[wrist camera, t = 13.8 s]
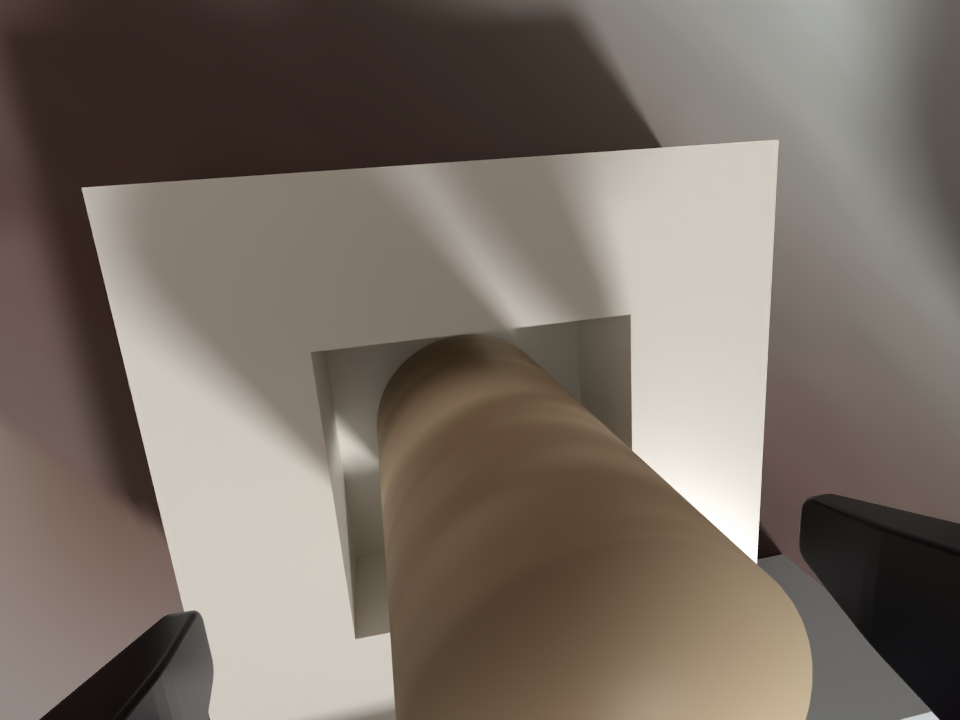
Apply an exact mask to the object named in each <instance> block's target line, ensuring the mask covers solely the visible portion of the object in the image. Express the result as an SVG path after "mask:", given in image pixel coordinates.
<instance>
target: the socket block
mask: <svg viewBox="0 0 960 720" xmlns="http://www.w3.org/2000/svg"><path fill="white" fill-rule="evenodd" d="M778 144H779V140H767V141H752V142H738V143H723V144H709V145H694V146H679V147H665V148H650V149H636V150H621V151H607V152H592V153H578V154H563V155H548V156H534V157H519V158H505V159H490V160H476V161H461V162H446V163H432V164H417V165H403V166H388V167H374V168H359V169H345V170H330V171H315V172H301V173H286V174H272V175H257V176H243V177H228V178H213V179H199V180H184V181H170V182H155V183H141V184H126V185H111V186H97V187H82V192H83V196H84V200H85V205H86V209H87V213H88V217H89V221H90V225H91V229H92V233H93V238H94V242H95V246H96V250H97V254H98V258H99V262H100V267H101V271H102V275H103V279H104V283H105V287H106V291H107V295H108V300H109V304H110V308H111V312H112V316H113V320H114V324H115V329H116V333H117V337H118V341H119V345H120V349H121V353H122V357H123V362H124V366H125V370H126V374H127V378H128V382H129V386H130V391H131V395H132V399H133V403H134V407H135V411H136V415H137V419H138V424H139V428H140V432H141V436H142V440H143V444H144V448H145V453H146V457H147V461H148V465H149V469H150V473H151V477H152V481H153V486H154V490H155V494H156V498H157V502H158V506H159V510H160V515H161V519H162V523H163V527H164V531H165V535H166V539H167V543H168V548H169V552H170V556H171V560H172V564H173V568H174V572H175V577H176V581H177V585H178V589H179V593H180V597H181V601H182V605H183V609H184V612H186V611H192V610H196V611H198V612H199V613H200V614H201V616H202V618H203V621H204V625H205V630H206V634H207V638H208V643H209V647H210V651H211V655H212V660H213V668H214V676H213V685H212V692H211V698H210V704H209V711H208V713H209V717H210V720H396V715H395V700H394V684H393V669H392V654H391V638H390V623H389V608H388V592H387V577H386V561H385V546H384V531H383V515H382V500H381V485H380V469H379V454H378V439H377V413H378V409H379V404H380V400H381V398H382V395H383V392H384V390H385V388H386V386H387V384H388V382H389V380H390V379H391V377H392V376H393V375H394V373H395V372H396V370H397V369H398V368H399V367H400V366H401V365H402V364H403V363H404V362H405V361H406V360H407V359H408V358H409V357H411V356H412V355H413V354H414V353H416V352H417V351H419V350H420V349H422V348H423V347H425V346H427V345H429V344H431V343H433V342H436V341H439V340H442V339H445V338H448V337H453V336H458V335H484V336H489V337H494V338H497V339H500V340H503V341H506V342H508V343H510V344H512V345H514V346H516V347H517V348H519V349H520V350H522V351H523V352H524V353H526V354H527V355H528V356H529V357H530V358H531V359H532V360H533V361H534V362H536V363H537V364H538V365H539V366H540V367H541V368H542V369H543V370H544V371H545V372H547V373H548V374H549V375H550V376H551V377H552V378H553V379H554V380H555V381H556V382H558V383H559V384H560V385H561V386H562V387H563V388H564V389H565V390H566V391H567V392H568V393H570V394H571V395H572V396H573V397H574V398H575V399H576V400H577V401H578V402H579V403H581V404H582V405H583V406H584V407H585V408H586V409H587V410H588V411H589V412H590V413H592V414H593V415H594V416H595V417H596V418H597V419H598V420H599V421H600V422H601V423H603V424H604V425H605V426H606V427H607V428H608V429H609V430H610V431H611V432H612V433H614V434H615V435H616V436H617V437H618V438H619V439H620V440H621V441H622V442H623V443H624V444H626V445H627V446H628V447H629V448H630V449H631V450H632V451H633V452H634V453H635V454H637V455H638V456H639V457H640V458H641V459H642V460H643V461H644V462H645V463H646V464H648V465H649V466H650V467H651V468H652V469H653V470H654V471H655V472H656V473H657V474H659V475H660V476H661V477H662V478H663V479H664V480H665V481H666V482H667V483H668V484H670V485H671V486H672V487H673V488H674V489H675V490H676V491H677V492H678V493H679V494H680V495H682V496H683V497H684V498H685V499H686V500H687V501H688V502H689V503H690V504H691V505H693V506H694V507H695V508H696V509H697V510H698V511H699V512H700V513H701V514H702V515H704V516H705V517H706V518H707V519H708V520H709V521H710V522H711V523H712V524H713V525H715V526H716V527H717V528H718V529H719V530H720V531H721V532H722V533H723V534H724V535H725V536H727V537H728V538H729V539H730V540H731V541H732V542H733V543H734V544H735V545H736V546H738V547H739V548H740V549H741V550H742V551H743V552H744V553H745V554H746V555H747V556H749V557H750V558H751V559H752V560H753V561H754V562H755V563H756V564H757V555H758V535H759V516H760V496H761V477H762V457H763V437H764V418H765V398H766V379H767V359H768V340H769V320H770V301H771V281H772V261H773V242H774V222H775V203H776V183H777V164H778Z"/></svg>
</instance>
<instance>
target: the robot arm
mask: <svg viewBox="0 0 960 720" xmlns="http://www.w3.org/2000/svg"><path fill="white" fill-rule="evenodd" d="M799 550H800V553H801V556H802V558H803V560H804V561H805V563H806V564H807V565H808V566H809V568H810V569H811V570H812V572H813V573H814V574H815V575H816V577H817V578H818V579H819V580H820V582H821V583H822V584H823V586H824V587H825V588H826V589H827V591H828V592H829V593H830V595H831V596H832V597H833V598H834V600H835V601H836V602H837V604H838V605H839V606H840V607H841V609H842V610H843V611H844V612H845V614H846V615H847V616H848V618H849V619H850V620H851V621H852V623H853V624H854V625H855V627H856V628H857V629H858V630H859V632H860V633H861V634H862V635H863V637H864V638H865V639H866V640H867V641H868V643H869V644H870V645H871V646H872V647H873V648H874V649H875V651H876V652H877V653H878V654H879V655H880V656H881V657H882V658H883V660H884V661H885V662H886V663H887V664H888V665H889V666H890V667H891V668H892V669H893V670H894V671H895V673H896V674H897V675H898V676H899V677H900V678H901V679H902V680H903V681H904V682H905V683H906V684H907V685H908V687H909V688H910V689H911V690H912V691H913V692H914V693H915V694H916V695H917V696H918V697H919V698H920V700H921V701H922V702H923V703H924V704H925V705H926V706H927V707H928V708H929V709H930V710H931V711H932V712H933V714H934V715H935V716H936V717H937V718H938V719H939V720H960V524H959V523H955V522H950V521H946V520H942V519H938V518H933V517H929V516H925V515H920V514H916V513H912V512H908V511H903V510H899V509H895V508H891V507H886V506H882V505H878V504H873V503H869V502H865V501H861V500H856V499H852V498H848V497H843V496H839V495H835V494H823V495H818V496H813V497H808V498H806V499H805V500H804V501H803V503H802V505H801V514H800V528H799ZM213 676H214V668H213V660H212V655H211V651H210V647H209V643H208V638H207V634H206V630H205V625H204V621H203V618H202V616H201V614H200V613H199V612H198V611H196V610H192V611H186V612H181V613H176V614H170V615H167V616H165V617H163V618H162V619H160V620H159V621H158V622H157V623H156V624H154V625H153V626H152V627H151V628H150V629H148V630H147V631H146V632H145V633H143V634H142V635H141V636H140V637H139V638H137V639H136V640H135V641H134V642H132V643H131V644H130V645H129V646H128V647H126V648H125V649H124V650H123V651H122V652H120V653H119V654H118V655H117V656H116V657H115V658H113V659H112V660H111V661H110V662H108V663H107V664H106V665H105V666H104V667H102V668H101V669H100V670H99V671H98V672H96V673H95V674H94V675H93V676H92V677H90V678H89V679H88V680H87V681H85V682H84V683H83V684H82V685H81V686H79V687H78V688H77V689H76V690H75V691H73V692H72V693H71V694H70V695H69V696H67V697H66V698H65V699H64V700H63V701H61V702H60V703H59V704H58V705H56V706H55V707H54V708H53V709H52V710H50V711H49V712H48V713H47V714H46V715H44V716H43V717H42V718H41V719H40V720H207V717H208V711H209V704H210V698H211V692H212V685H213Z"/></svg>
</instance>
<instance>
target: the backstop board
mask: <svg viewBox="0 0 960 720" xmlns="http://www.w3.org/2000/svg"><path fill="white" fill-rule="evenodd" d="M757 565H758V566H760V567H761V568H762V569H763V570H764V571H765V572H766V573H767V574H768V575H769V576H770V577H771V578H773V579H774V580H775V581H776V582H777V583H778V584H779V585H780V586H781V587H782V589H783V590H784V591H785V593H786V594H787V595H788V597H789V598H790V599H791V601H792V602H793V604H794V605H795V607H796V609H797V611H798V613H799V615H800V617H801V619H802V621H803V624H804V627H805V630H806V633H807V636H808V639H809V643H810V650H811V657H812V691H811V698H810V705H809V709H808V713H807V716H806V720H939V719H938V718H937V717H936V716H935V715H934V714H933V712H932V711H931V710H930V709H929V708H928V707H927V706H926V705H925V704H924V703H923V702H922V701H921V700H920V698H919V697H918V696H917V695H916V694H915V693H914V692H913V691H912V690H911V689H910V688H909V687H908V685H907V684H906V683H905V682H904V681H903V680H902V679H901V678H900V677H899V676H898V675H897V674H896V673H895V671H894V670H893V669H892V668H891V667H890V666H889V665H888V664H887V663H886V662H885V661H884V660H883V658H882V657H881V656H880V655H879V654H878V653H877V652H876V651H875V649H874V648H873V647H872V646H871V645H870V644H869V643H868V641H867V640H866V639H865V638H864V637H863V635H862V634H861V633H860V632H859V630H858V629H857V628H856V627H855V625H854V624H853V623H852V621H851V620H850V619H849V618H848V616H847V615H846V614H845V612H844V611H843V610H842V609H841V607H840V606H839V605H838V604H837V602H836V601H835V600H834V598H833V597H832V596H831V595H830V593H829V592H828V591H827V590H826V589H825V588H824V587H822V586H821V585H820V584H819V583H818V582H816V581H815V580H814V579H813V578H811V577H810V576H809V575H808V574H807V573H805V572H804V571H803V570H802V569H800V568H799V567H798V566H797V565H796V564H794V563H793V562H792V561H791V560H789V559H788V558H787V557H786V556H785V555H783V554H782V555H777V556H772V557H767V558H762V559H757ZM207 720H210V717H209V713H208V717H207Z"/></svg>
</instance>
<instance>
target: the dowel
mask: <svg viewBox="0 0 960 720" xmlns="http://www.w3.org/2000/svg"><path fill="white" fill-rule="evenodd" d="M377 439H378V454H379V469H380V485H381V500H382V515H383V531H384V546H385V561H386V577H387V592H388V608H389V623H390V638H391V654H392V669H393V684H394V700H395V715H396V720H806V716H807V713H808V709H809V705H810V698H811V691H812V657H811V650H810V643H809V639H808V636H807V633H806V630H805V627H804V624H803V621H802V619H801V617H800V615H799V613H798V611H797V609H796V607H795V605H794V604H793V602H792V601H791V599H790V598H789V597H788V595H787V594H786V593H785V591H784V590H783V589H782V587H781V586H780V585H779V584H778V583H777V582H776V581H775V580H774V579H773V578H771V577H770V576H769V575H768V574H767V573H766V572H765V571H764V570H763V569H762V568H761V567H760V566H758V565H757V564H756V563H755V562H754V561H753V560H752V559H751V558H750V557H749V556H747V555H746V554H745V553H744V552H743V551H742V550H741V549H740V548H739V547H738V546H736V545H735V544H734V543H733V542H732V541H731V540H730V539H729V538H728V537H727V536H725V535H724V534H723V533H722V532H721V531H720V530H719V529H718V528H717V527H716V526H715V525H713V524H712V523H711V522H710V521H709V520H708V519H707V518H706V517H705V516H704V515H702V514H701V513H700V512H699V511H698V510H697V509H696V508H695V507H694V506H693V505H691V504H690V503H689V502H688V501H687V500H686V499H685V498H684V497H683V496H682V495H680V494H679V493H678V492H677V491H676V490H675V489H674V488H673V487H672V486H671V485H670V484H668V483H667V482H666V481H665V480H664V479H663V478H662V477H661V476H660V475H659V474H657V473H656V472H655V471H654V470H653V469H652V468H651V467H650V466H649V465H648V464H646V463H645V462H644V461H643V460H642V459H641V458H640V457H639V456H638V455H637V454H635V453H634V452H633V451H632V450H631V449H630V448H629V447H628V446H627V445H626V444H624V443H623V442H622V441H621V440H620V439H619V438H618V437H617V436H616V435H615V434H614V433H612V432H611V431H610V430H609V429H608V428H607V427H606V426H605V425H604V424H603V423H601V422H600V421H599V420H598V419H597V418H596V417H595V416H594V415H593V414H592V413H590V412H589V411H588V410H587V409H586V408H585V407H584V406H583V405H582V404H581V403H579V402H578V401H577V400H576V399H575V398H574V397H573V396H572V395H571V394H570V393H568V392H567V391H566V390H565V389H564V388H563V387H562V386H561V385H560V384H559V383H558V382H556V381H555V380H554V379H553V378H552V377H551V376H550V375H549V374H548V373H547V372H545V371H544V370H543V369H542V368H541V367H540V366H539V365H538V364H537V363H536V362H534V361H533V360H532V359H531V358H530V357H529V356H528V355H527V354H526V353H524V352H523V351H522V350H520V349H519V348H517V347H516V346H514V345H512V344H510V343H508V342H506V341H503V340H500V339H497V338H494V337H489V336H484V335H458V336H453V337H448V338H445V339H442V340H439V341H436V342H433V343H431V344H429V345H427V346H425V347H423V348H422V349H420V350H419V351H417V352H416V353H414V354H413V355H412V356H411V357H409V358H408V359H407V360H406V361H405V362H404V363H403V364H402V365H401V366H400V367H399V368H398V369H397V370H396V372H395V373H394V375H393V376H392V377H391V379H390V380H389V382H388V384H387V386H386V388H385V390H384V392H383V395H382V398H381V400H380V404H379V409H378V413H377Z"/></svg>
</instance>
